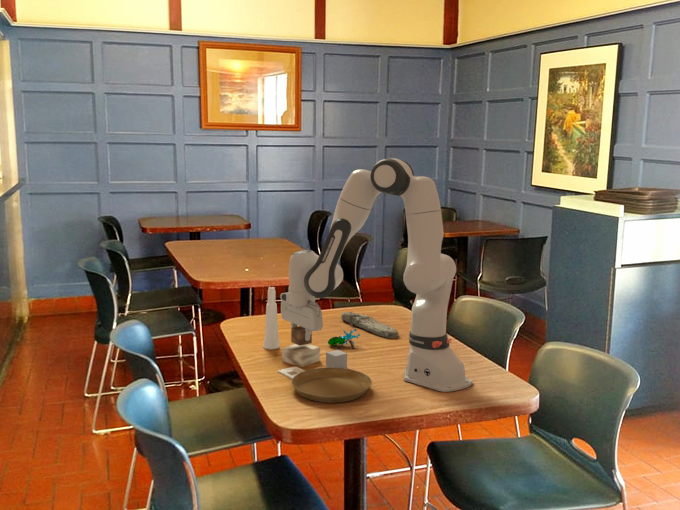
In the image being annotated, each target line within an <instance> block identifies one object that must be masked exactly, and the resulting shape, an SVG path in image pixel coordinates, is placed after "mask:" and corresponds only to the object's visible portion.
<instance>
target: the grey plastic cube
mask: <svg viewBox="0 0 680 510" xmlns="http://www.w3.org/2000/svg"><path fill="white" fill-rule="evenodd" d="M325 368H345V369H348V353H347V352H344V351H342V350H340V349H335V350H331V351H326V352H325Z"/></svg>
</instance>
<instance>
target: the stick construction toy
mask: <svg viewBox="0 0 680 510" xmlns="http://www.w3.org/2000/svg"><path fill="white" fill-rule="evenodd" d="M342 331H343V333H344V334H345V335H342V336H341V335H339V336H333V337H331V338H329V340H328V341H327V344H328V345H330V346H337V348H338V349H340V346H343V345H345V344H346V345H347V344H348V343H349V344H350V346H351V347H350V348H351V349H352V350H355V347H354V344H355V342H354V341H353V339H355V338H356V339H358V338H359V337H361V334H360V333H358V334H357V335H354V334H353V333H355V332H357V328H354V329H353V330H352V329H350V332H349V333H348V332H347V331H346V330H344V329H343V330H342Z"/></svg>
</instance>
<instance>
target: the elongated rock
mask: <svg viewBox="0 0 680 510" xmlns="http://www.w3.org/2000/svg"><path fill="white" fill-rule="evenodd" d="M340 316H341V320H343V321H344V322H345V321H346V323H347V322H348V323H347V324H349V323H350V324H349V325H351V324H352V325H351V326H353V325H355V326H354V327H356V326H357V327H356V328H358V327H359V329H363V330H365V331H366V332H369V333H372V334H374V335H376V336H378V335H379V337H382V338H386V339H397V338H398V337H399V331H398V330H397V329H396V328H394V327H392V326H390V325H387V324H386V323H383V322H380V321H378V320H377V319H375V318H373V316H371V315H370V316H369V315H366V314H365V313H364V314H363V313H362V314H361V313H355V312H353V311H347V312H345V311H344V312H342V313H341V315H340Z"/></svg>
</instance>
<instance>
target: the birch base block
mask: <svg viewBox="0 0 680 510" xmlns="http://www.w3.org/2000/svg"><path fill="white" fill-rule="evenodd" d="M281 350H282V351H281V353H282V354H281V355H282V356H281V357H282V359H281V362H282V363H286V362H287V363H286V364H290V365H294V366H296V367H299V368H300V367H301V368H304V367H307V366H309V365H312V364H314V363H317V362H319V361H320V358H321V351H320V350H321V347H320V346H317V345H314V344H311V343H310V344H305V345H300V346H299V345H297V344H295V343H293V344H290V345H287V346H284V347H282V349H281ZM306 365H307V366H306Z"/></svg>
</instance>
